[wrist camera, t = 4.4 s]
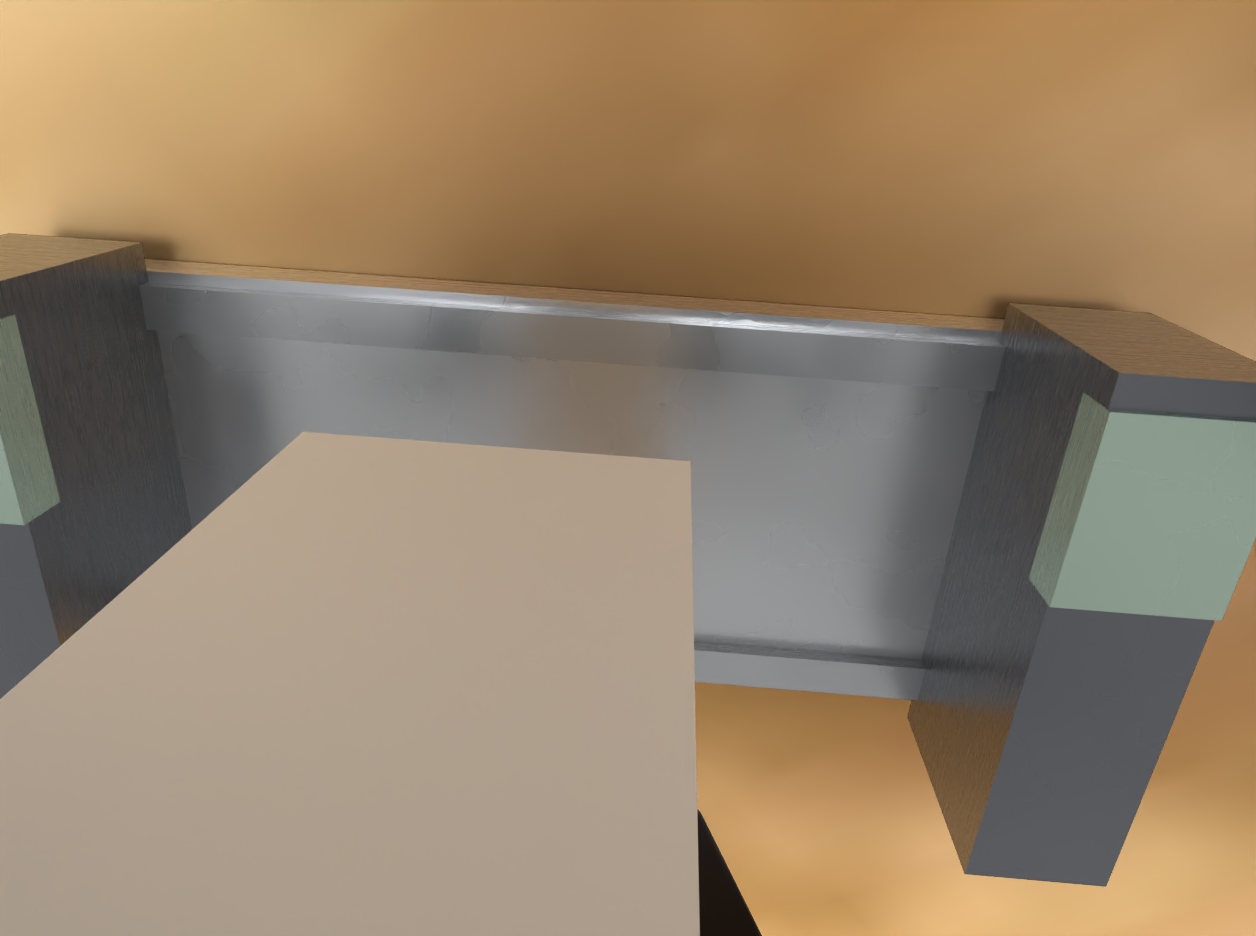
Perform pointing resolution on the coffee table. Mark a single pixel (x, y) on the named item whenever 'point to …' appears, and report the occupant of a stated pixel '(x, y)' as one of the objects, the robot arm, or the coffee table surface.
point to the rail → (702, 486)
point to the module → (376, 710)
